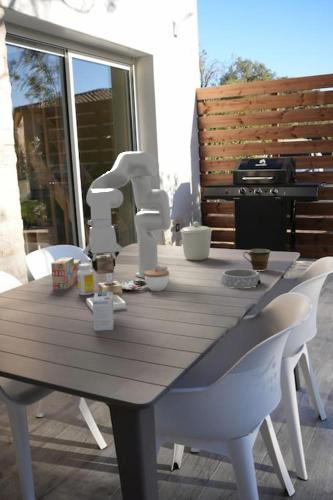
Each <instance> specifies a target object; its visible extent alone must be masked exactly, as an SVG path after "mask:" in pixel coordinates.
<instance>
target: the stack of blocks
mask: <svg viewBox="0 0 333 500" xmlns="http://www.w3.org/2000/svg"><path fill="white" fill-rule="evenodd" d="M50 264H51V265H50V267H51V278H52V280H51V281H52V290H67V289H68V288H70V287H71V286H73V285H74V284H76V283H78V277H77V272H78V271H79V270H80V268H79V265H80V264H82V263H81V259H75V258H74V257H59V258H58V259H56V260H54V261H53V262H51V263H50Z"/></svg>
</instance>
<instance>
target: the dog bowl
mask: <svg viewBox="0 0 333 500" xmlns="http://www.w3.org/2000/svg"><path fill="white" fill-rule="evenodd" d="M221 274H222V275H221V278H220V283H221V284H222V285H224V286H227V287H234V288H244V287H253V286H256V285H257V286H258V284H259V283H260V282H261V283H262V281H261V277H260V272H257V271H254V270H253V269H249V268H248V269H247V268H232V269H227V270H224V271H223V272H222V273H221ZM258 281H260V282H258ZM221 284H220V285H221ZM222 285H221V286H222ZM224 286H223V287H224ZM227 287H226V288H227ZM234 288H233V289H234Z"/></svg>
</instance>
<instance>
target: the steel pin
mask: <svg viewBox="0 0 333 500" xmlns="http://www.w3.org/2000/svg"><path fill="white" fill-rule="evenodd" d="M113 274H114V273H107V274H105V276H106V278H105V279H106V282H107V286H110V285H113V281H114V277H113Z"/></svg>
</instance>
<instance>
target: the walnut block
mask: <svg viewBox="0 0 333 500" xmlns="http://www.w3.org/2000/svg"><path fill="white" fill-rule="evenodd" d="M96 261H97V271H95V270H94V272H95V273H96V274H97V275H104V274H105V275H106V274H107V273H113V274H114V273H115V271H114V270H115V267H114V268H113V257H112V256H111V255H110V254H104V255H102V254H101V255H97V256H96Z"/></svg>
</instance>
